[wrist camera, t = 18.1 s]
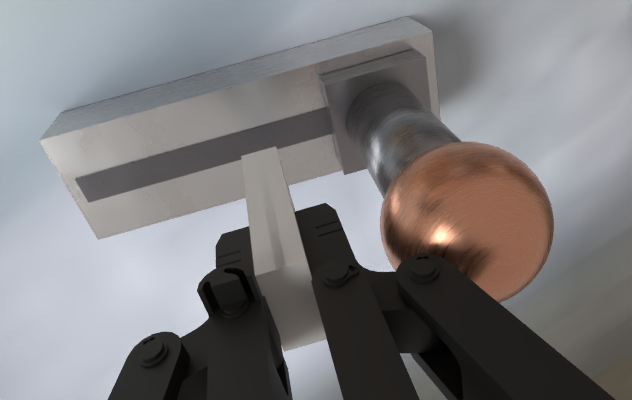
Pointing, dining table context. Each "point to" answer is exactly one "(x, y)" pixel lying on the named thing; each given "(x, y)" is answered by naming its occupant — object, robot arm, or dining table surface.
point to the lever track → (213, 130)
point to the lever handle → (438, 178)
